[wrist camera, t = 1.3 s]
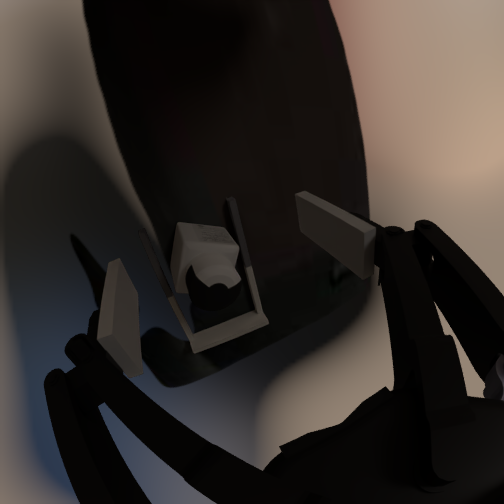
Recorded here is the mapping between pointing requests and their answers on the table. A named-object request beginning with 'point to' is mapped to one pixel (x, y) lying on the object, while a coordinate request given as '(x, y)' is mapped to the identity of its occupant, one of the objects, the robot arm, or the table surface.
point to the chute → (227, 328)
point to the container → (205, 265)
